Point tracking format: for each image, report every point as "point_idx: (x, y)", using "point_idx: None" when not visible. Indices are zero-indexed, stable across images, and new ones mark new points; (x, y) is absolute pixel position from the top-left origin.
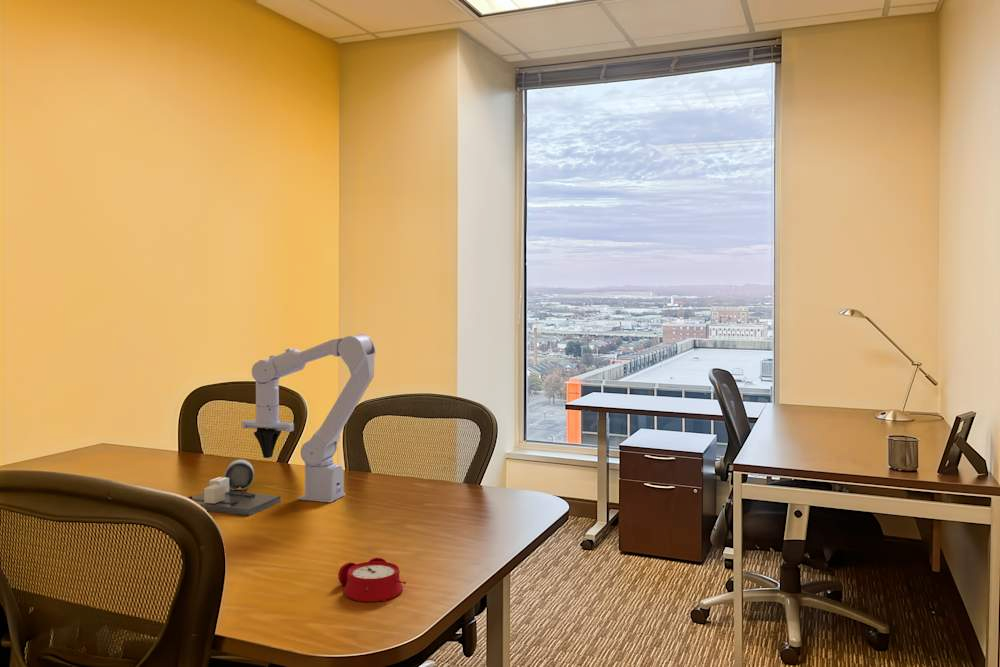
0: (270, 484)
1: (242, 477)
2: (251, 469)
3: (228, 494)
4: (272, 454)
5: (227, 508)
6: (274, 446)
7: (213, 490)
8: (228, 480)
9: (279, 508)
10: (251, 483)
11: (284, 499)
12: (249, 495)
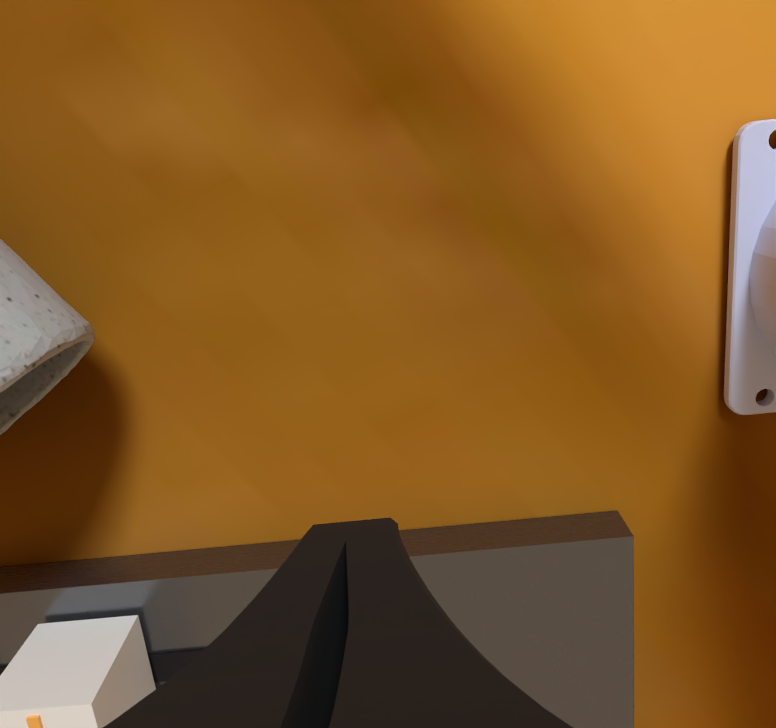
0: (105, 50)
1: None
2: (19, 378)
3: None
4: (399, 537)
5: None
6: (432, 601)
7: None
8: (103, 695)
9: (714, 639)
10: (93, 336)
11: (601, 438)
12: None
